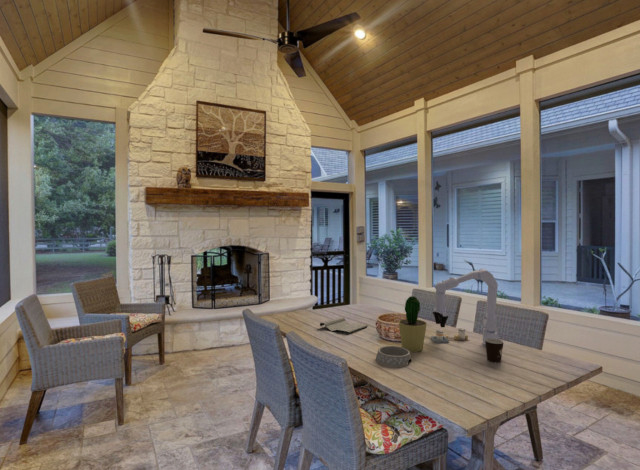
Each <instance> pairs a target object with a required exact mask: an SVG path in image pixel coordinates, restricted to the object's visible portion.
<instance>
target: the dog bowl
mask: <svg viewBox="0 0 640 470" xmlns="http://www.w3.org/2000/svg"><path fill="white" fill-rule="evenodd" d="M375 361H376V362H377V363H378V365H382V366H386V367H391V368H405V367H407V366H408V364H409V361H411V362H412V361H413V360H412V356H411V351H409V350H407V349H405V348H402V346H398V345H397V346H396V345H385V346H381V347H379V348H378V349H377V353H376V357H375Z"/></svg>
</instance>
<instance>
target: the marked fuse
mask: <svg viewBox="0 0 640 470" xmlns="http://www.w3.org/2000/svg"><path fill="white" fill-rule="evenodd" d="M435 336H436V339H435V340H444V339H443V336H444V330H441V329H438V330H436V331H435Z"/></svg>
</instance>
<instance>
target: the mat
mask: <svg viewBox="0 0 640 470" xmlns="http://www.w3.org/2000/svg"><path fill="white" fill-rule="evenodd" d="M319 326H320V327H324V326H325V328H326V329H328V330H329V331H331V332H336V331H338V332H343V333H344V332H345V333H346V332H347V333H348V334H351V333H353V332H356V331H360V330H361V329H362V330H363V329H365V328H367V327H369V326H368V325H367V324H365V323H364V324H363V323H358V322H357V323H350V322H349V321H347V320H346V318H345V317H343V316H341V317H340V316H339V317H337V318H333V319H330V320H325V321H324V322H320V323H319Z"/></svg>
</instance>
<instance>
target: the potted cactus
mask: <svg viewBox="0 0 640 470" xmlns="http://www.w3.org/2000/svg"><path fill="white" fill-rule="evenodd" d="M403 311H404V313H405V318H406V319H400V320H398V326H399V327H398V328H399V332H400V333H399V336H400V341H401V347H402V348H405V349H407V350H409V352H413V353H414V352H415V353H416V352H421V351H423V349H424V344H425V338H426V336H425V335H426V331H427V330H426V329H427V324H428V323H427V322H426V321H424V320H422V319H419V313H420V312H421V301H419V299H418V298H417V296H408V298H406V299H405V302H404V310H403Z"/></svg>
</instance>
